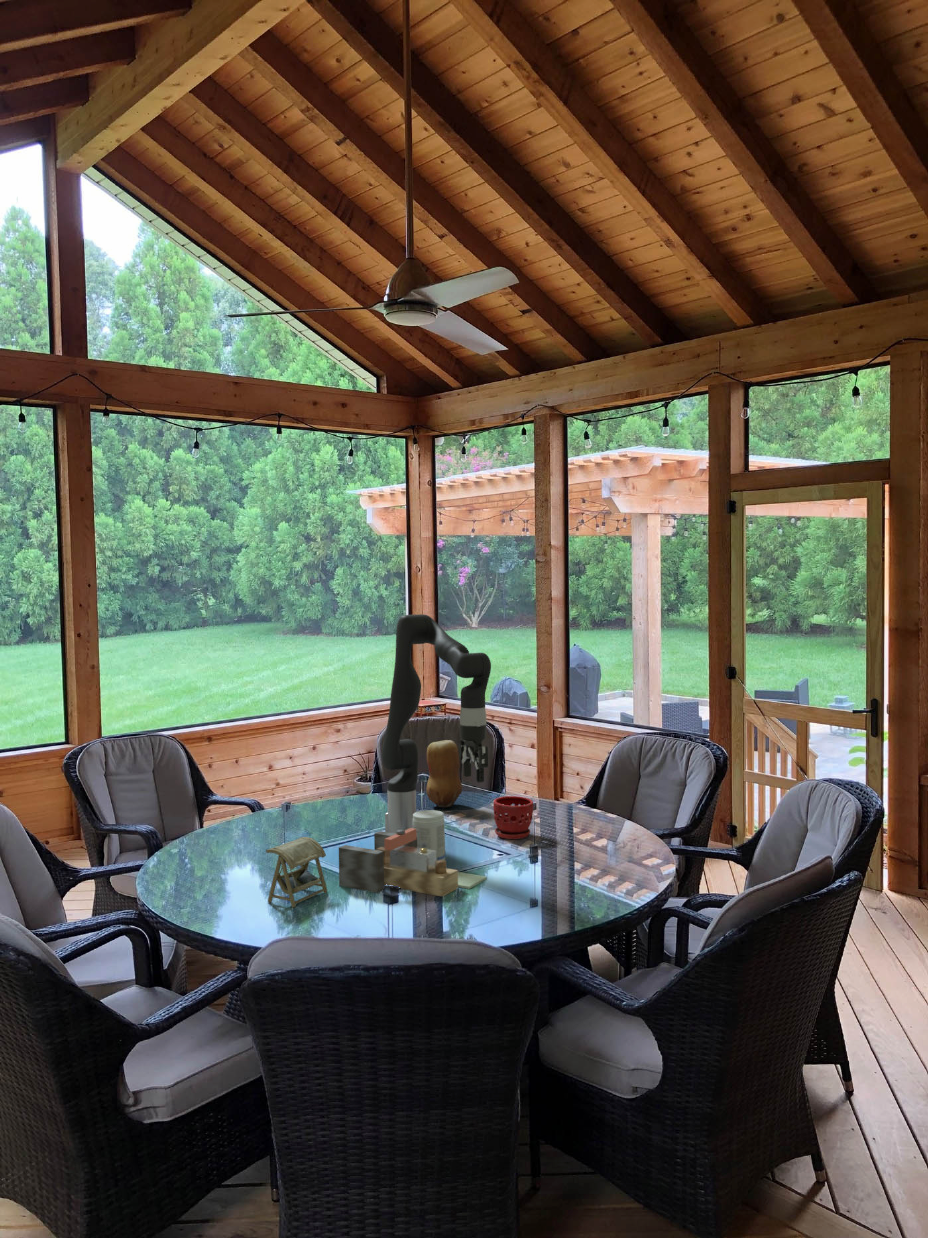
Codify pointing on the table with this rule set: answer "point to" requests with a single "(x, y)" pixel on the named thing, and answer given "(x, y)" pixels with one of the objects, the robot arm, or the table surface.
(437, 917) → the table surface
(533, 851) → the table surface
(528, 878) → the table surface
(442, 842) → the supplement tub
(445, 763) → the butternut squash
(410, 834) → the latch bar
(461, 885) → the mat
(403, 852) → the block with brass knob
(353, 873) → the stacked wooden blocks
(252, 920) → the table surface
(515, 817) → the plant pot
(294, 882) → the swing bench
